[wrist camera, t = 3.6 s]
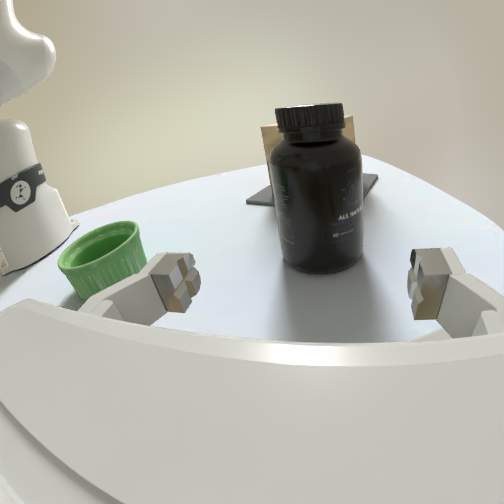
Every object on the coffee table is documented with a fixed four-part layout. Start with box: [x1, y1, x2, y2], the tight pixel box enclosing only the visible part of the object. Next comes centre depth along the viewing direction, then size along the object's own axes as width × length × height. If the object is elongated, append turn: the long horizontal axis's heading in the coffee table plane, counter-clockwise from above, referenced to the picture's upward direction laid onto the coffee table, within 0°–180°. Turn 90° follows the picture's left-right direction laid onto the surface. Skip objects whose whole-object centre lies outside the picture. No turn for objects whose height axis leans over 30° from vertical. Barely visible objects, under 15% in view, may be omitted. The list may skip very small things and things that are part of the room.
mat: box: [246, 173, 378, 206], centre depth 37 cm, size 14×14×1 cm
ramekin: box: [58, 221, 147, 301], centre depth 25 cm, size 9×9×4 cm
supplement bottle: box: [269, 103, 363, 273], centre depth 20 cm, size 7×7×12 cm
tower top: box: [261, 116, 355, 161], centre depth 33 cm, size 9×9×4 cm
